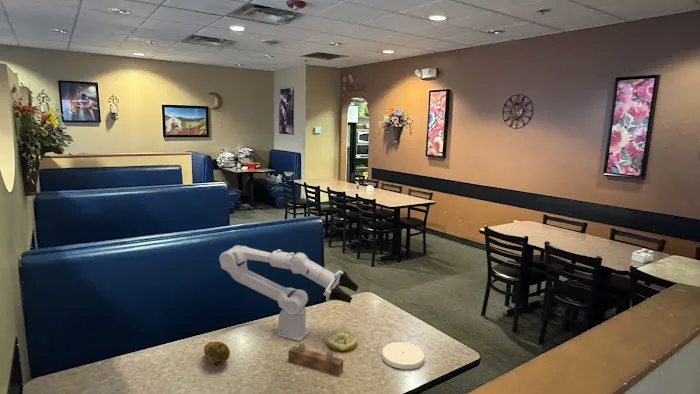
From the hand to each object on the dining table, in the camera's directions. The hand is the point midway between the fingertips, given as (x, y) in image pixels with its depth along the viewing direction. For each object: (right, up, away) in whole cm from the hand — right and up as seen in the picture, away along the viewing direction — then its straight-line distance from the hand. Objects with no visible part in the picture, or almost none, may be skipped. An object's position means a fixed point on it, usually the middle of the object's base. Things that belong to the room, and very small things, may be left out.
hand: (354, 294), depth 145 cm
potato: (-44, -19, -12) cm, 49 cm away
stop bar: (-13, -20, -12) cm, 27 cm away
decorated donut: (-5, -18, +2) cm, 19 cm away
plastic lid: (+16, -21, -6) cm, 27 cm away
